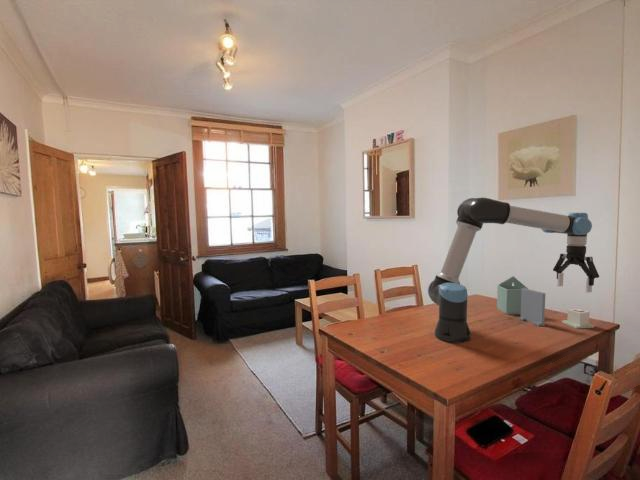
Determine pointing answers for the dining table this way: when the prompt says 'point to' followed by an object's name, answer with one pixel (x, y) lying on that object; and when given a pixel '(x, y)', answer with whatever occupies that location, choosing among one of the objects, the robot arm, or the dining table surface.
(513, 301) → the planter
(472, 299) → the dining table surface
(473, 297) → the dining table surface
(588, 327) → the pad
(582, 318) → the letter cube
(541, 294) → the board
